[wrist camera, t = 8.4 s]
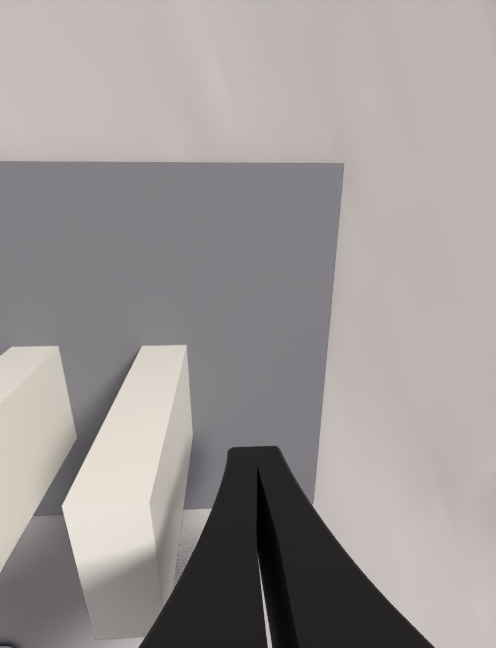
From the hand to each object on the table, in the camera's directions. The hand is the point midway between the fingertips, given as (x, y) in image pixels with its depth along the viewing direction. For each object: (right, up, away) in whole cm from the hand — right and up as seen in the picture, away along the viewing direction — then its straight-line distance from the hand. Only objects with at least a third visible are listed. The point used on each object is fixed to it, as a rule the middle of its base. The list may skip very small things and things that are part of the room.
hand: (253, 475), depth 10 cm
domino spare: (-3, +2, +4) cm, 5 cm away
